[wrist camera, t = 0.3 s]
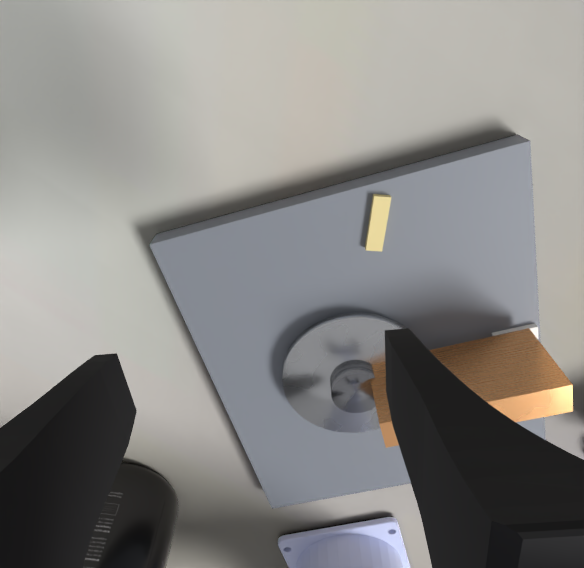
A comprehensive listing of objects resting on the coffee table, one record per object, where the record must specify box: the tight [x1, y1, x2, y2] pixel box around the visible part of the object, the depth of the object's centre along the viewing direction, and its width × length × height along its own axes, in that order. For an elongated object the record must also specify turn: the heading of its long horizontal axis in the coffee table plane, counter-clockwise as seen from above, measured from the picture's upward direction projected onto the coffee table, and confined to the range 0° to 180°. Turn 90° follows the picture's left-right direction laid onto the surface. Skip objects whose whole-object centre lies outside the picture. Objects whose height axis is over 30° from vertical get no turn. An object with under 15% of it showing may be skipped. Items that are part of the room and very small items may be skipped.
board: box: [149, 135, 546, 509], centre depth 24 cm, size 18×16×2 cm
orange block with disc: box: [282, 313, 573, 448], centre depth 21 cm, size 12×7×4 cm, turn 106°
